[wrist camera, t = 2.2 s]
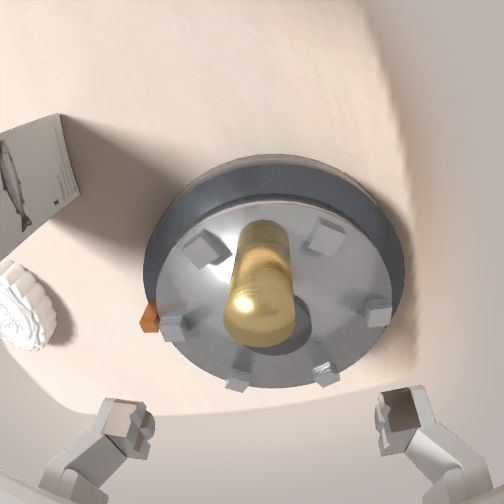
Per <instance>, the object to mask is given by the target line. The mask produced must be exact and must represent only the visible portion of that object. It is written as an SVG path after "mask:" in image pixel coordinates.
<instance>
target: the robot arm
mask: <svg viewBox="0 0 504 504" xmlns="http://www.w3.org/2000/svg"><path fill="white" fill-rule="evenodd" d="M378 401H379V404H377V405H376V408H375V425H376V430H377V431H378V432H379V433H380V437H379V440H378V442H379V447H380V452H381V456H387V455H393V454H398V453H403V452H405V453H404V454H406V456H407V457H408V458H409V459H410V460H411V461H412V462H413V463H414V464H415V465H416V467H417V468H418V469H419V470H420V471H421V472H422V473H423V474H424V475H425V476H426V477H427V478H428V479H429V480H430V481H431V482H432V483H433V484H434V485H433V486H432V487H431V488H430V489H429V490H428V491H427V492H426V493H425V494H424V496H423V497H422V499H423V504H504V485H501V486H499V487H497V488H495V489H494V488H493V485H492V481H491V478H490V474H489V471H488V468H487V464H486V461H485V458H484V457H483V456H482V455H481V454H480V453H478V452H477V451H476V450H474V449H473V448H472V447H471V446H469V445H468V444H467V443H465V442H464V441H463V440H462V439H460V438H459V437H458V436H457V435H455V434H454V433H453V432H451V431H450V430H449V429H448V428H446V427H445V426H444V425H443V424H441V423H436V420H435V417H434V414H433V411H432V408H431V405H430V402H429V399H428V396H427V394H426V391H425V388H424V387H423V385H417V386H412V387H408V388H407V387H406V388H402V389H396V390H391V391H386V392H381V393H380V394H379V396H378ZM154 431H155V421H154V417H153V416H152V414H151V413H150V412H148V411H146V405H145V404H144V403H143V402H140V401H130V400H121V399H114V398H105V399H104V400H103V402H102V404H101V407H100V409H99V412H98V414H97V416H96V419H95V421H94V424H93V426H92V429H91V431H87V432H85V433H84V434H83V435H82V436H80V437H79V438H78V439H77V440H75V441H74V442H73V443H71V444H70V445H69V446H68V447H66V448H65V449H64V450H62V451H61V452H60V453H59V454H57V455H56V456H55V457H53V458H52V459H51V460H50V461H49V462H48V464H47V467H46V469H45V471H44V474H43V477H42V479H41V481H40V484H39V487H37V486H34V485H32V484H30V483H28V482H26V481H24V480H22V479H20V478H18V477H16V476H14V475H11V474H10V473H8V472H6V471H4V470H2V469H0V504H107V503H108V499H109V497H108V495H107V494H105V493H104V492H103V491H101V490H100V489H99V488H100V487H101V486H102V484H103V483H104V482H105V481H106V480H107V479H108V478H109V477H110V476H111V475H112V474H113V473H114V472H115V471H116V470H117V469H118V468H119V467H120V466H121V465H122V463H124V462H125V460H126V459H127V457H129V458H135V459H142V460H147V457H148V453H149V449H150V444H149V441H148V440H149V439H150V438H151V437H153V435H154Z"/></svg>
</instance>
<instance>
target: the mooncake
mask: <svg viewBox="0 0 504 504" xmlns="http://www.w3.org/2000/svg"><path fill="white" fill-rule="evenodd" d="M52 305H53V304H52V301H51V299H50V298H49V297H48V296H47V295H46V292H45V289H44V287H43V286H42V285H41V284H40V283H38V282H36V279H35V277H34V276H33V275H32V274H31V273H30V272H28V271H25V269H24V268H23V266H22V265H20V264H19V263H13V261H12V260H11V259H9V258H4V259H3V260H2V261H1V262H0V336H1V337H2V338H3V339H5V340H7V341H8V342H10V343H11V344H12V345H14V346H17V347H18V348H24V349H25V350H27V351H31V350H34V351H38V350H40V348H44V347H45V345H46V344H47V342H48V341H49V339H50V337H51V336H52V334H53V333H54V329H55V327H56V326H57V321H56V320H55V318H56V311H55V310H54V309H53V308H52Z"/></svg>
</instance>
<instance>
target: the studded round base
mask: <svg viewBox="0 0 504 504" xmlns="http://www.w3.org/2000/svg"><path fill="white" fill-rule="evenodd" d="M391 303H392V289H391V281H390V278H389V274H388V271H387V268H386V266H385V264H384V262H383V260H382V258H381V256H380V254H379V252H378V250H377V248H376V246H375V244H374V242H373V241H372V240H371V238H370V237H369V235H368V234H367V233H366V231H365V230H364V229H363V228H362V227H361V226H360V225H359V224H358V223H357V222H356V221H355V220H353V219H352V218H351V217H349V216H348V215H346V214H345V213H344V212H342V211H340V210H338V209H337V208H335V207H333V206H331V205H329V204H327V203H324V202H321V201H318V200H316V199H313V198H309V197H304V196H300V195H295V194H283V193H268V194H256V195H250V196H245V197H240V198H237V199H234V200H231V201H228V202H225V203H223V204H221V205H219V206H217V207H214V208H212V209H210V210H209V211H207V212H206V213H204V214H203V215H201V216H200V217H198V218H197V219H196V220H195V221H194V222H192V223H191V224H190V225H189V226H188V227H187V228H186V229H185V230H184V231H183V233H182V234H181V235H180V236H179V238H178V239H177V240H176V242H175V244H174V246H173V247H172V249H171V251H170V253H169V255H168V257H167V259H166V261H165V263H164V265H163V267H162V269H161V272H160V275H159V278H158V283H157V288H156V305H157V311H158V315H159V318H160V323H159V329H160V331H161V333H162V335H163V338H164V340H165V342H172V343H173V345H174V346H175V347H176V348H177V349H178V350H179V351H180V352H181V353H182V354H183V355H184V356H185V357H186V358H187V359H188V360H189V361H191V362H192V363H194V364H195V365H196V366H198V367H199V368H201V369H203V370H204V371H206V372H208V373H210V374H212V375H214V376H216V377H219V378H221V379H224V380H226V382H225V388H227V389H231V390H234V391H238V392H242V393H243V392H244V391H245V389H246V388H247V386H251V387H258V388H289V387H297V386H302V385H307V384H311V383H315V382H317V383H318V384H319V385H321V386H322V387H326V386H328V385H330V384H333V383H335V382H337V381H340V376H339V372H341V371H343V370H345V369H346V368H348V367H350V366H351V365H353V364H354V363H355V362H357V361H358V360H359V359H360V358H362V357H363V356H364V355H365V354H366V353H367V352H368V351H369V350H370V349H371V348H372V346H373V345H374V344H375V342H376V341H377V340H378V338H379V337H380V335H381V333H382V332H383V330H384V328H385V325H390V319H391V313H392V305H391Z"/></svg>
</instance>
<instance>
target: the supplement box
mask: <svg viewBox="0 0 504 504" xmlns="http://www.w3.org/2000/svg"><path fill="white" fill-rule="evenodd" d="M79 195H80V192H79V189H78V186H77V184H76V181H75V178H74V174H73V171H72V168H71V164H70V160H69V156H68V152H67V148H66V144H65V140H64V135H63V130H62V125H61V120H60V114H58V113H57V114H53V115H49V116H46V117H43V118H40V119H37V120H35V121H32V122H29V123H26V124H23V125H21V126H18V127H15V128H13V129H10V130H7V131H5V132H2V133H0V262H1V261H2V260H3V259H4V258H5V257H7V256H8V255H9V254H10V253H11V252H12V251H13V250H14V249H15V248H16V247H18V246H19V245H20V244H21V243H22V242H23V241H24V240H25V239H27V238H28V237H29V236H30V235H31V234H32V233H33V232H35V231H36V230H37V229H38V228H39V227H40V226H42V225H43V224H44V223H45V222H46V221H48V220H49V219H50V218H51V217H52V216H54V215H55V214H56V213H58V212H59V211H60V210H61V209H63V208H64V207H65V206H66V205H68V204H69V203H70V202H72V201H73V200H74V199H76V198H77V197H78V196H79Z"/></svg>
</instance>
